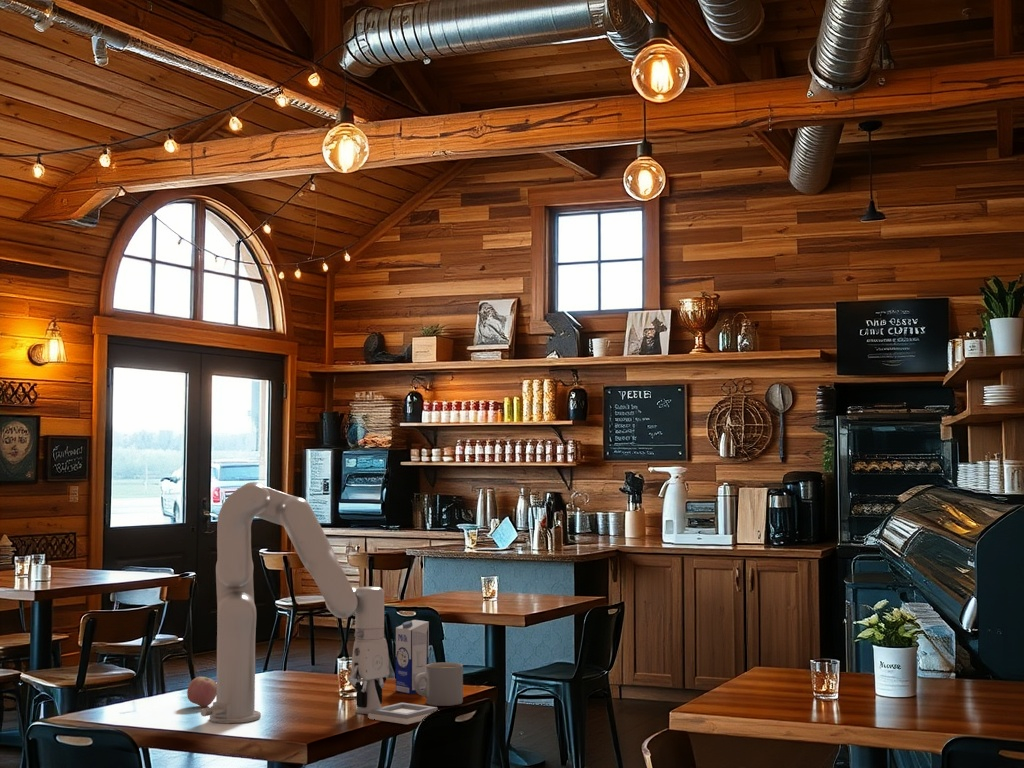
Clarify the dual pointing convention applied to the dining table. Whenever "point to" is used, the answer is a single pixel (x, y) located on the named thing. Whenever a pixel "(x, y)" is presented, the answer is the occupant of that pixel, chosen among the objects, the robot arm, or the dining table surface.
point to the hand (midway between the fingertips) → (369, 704)
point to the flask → (370, 699)
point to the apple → (202, 691)
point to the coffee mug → (442, 684)
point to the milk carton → (411, 654)
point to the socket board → (401, 713)
